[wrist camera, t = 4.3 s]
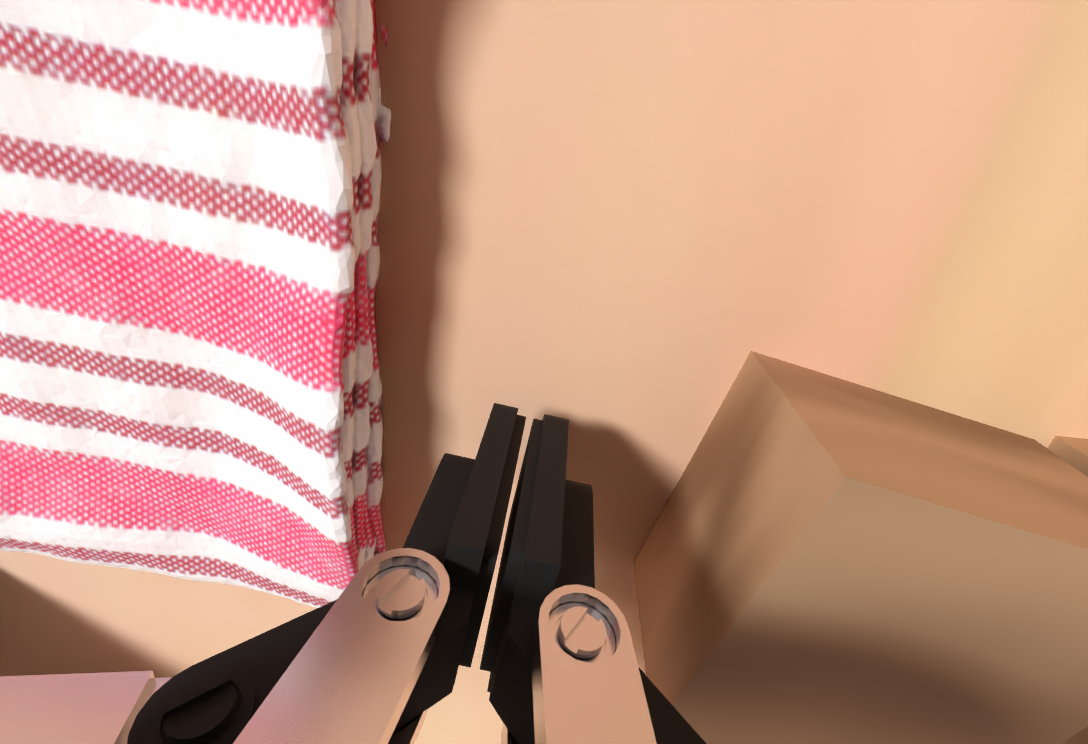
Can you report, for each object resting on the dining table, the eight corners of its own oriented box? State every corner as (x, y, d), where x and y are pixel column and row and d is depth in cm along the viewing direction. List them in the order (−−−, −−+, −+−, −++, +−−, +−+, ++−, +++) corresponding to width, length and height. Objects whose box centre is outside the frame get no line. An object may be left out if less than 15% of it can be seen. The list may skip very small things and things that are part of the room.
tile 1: (748, 347, 11) (845, 476, 7) (1027, 435, 11) (1276, 606, 7) (633, 556, 14) (652, 729, 10) (853, 618, 14) (958, 808, 10)
